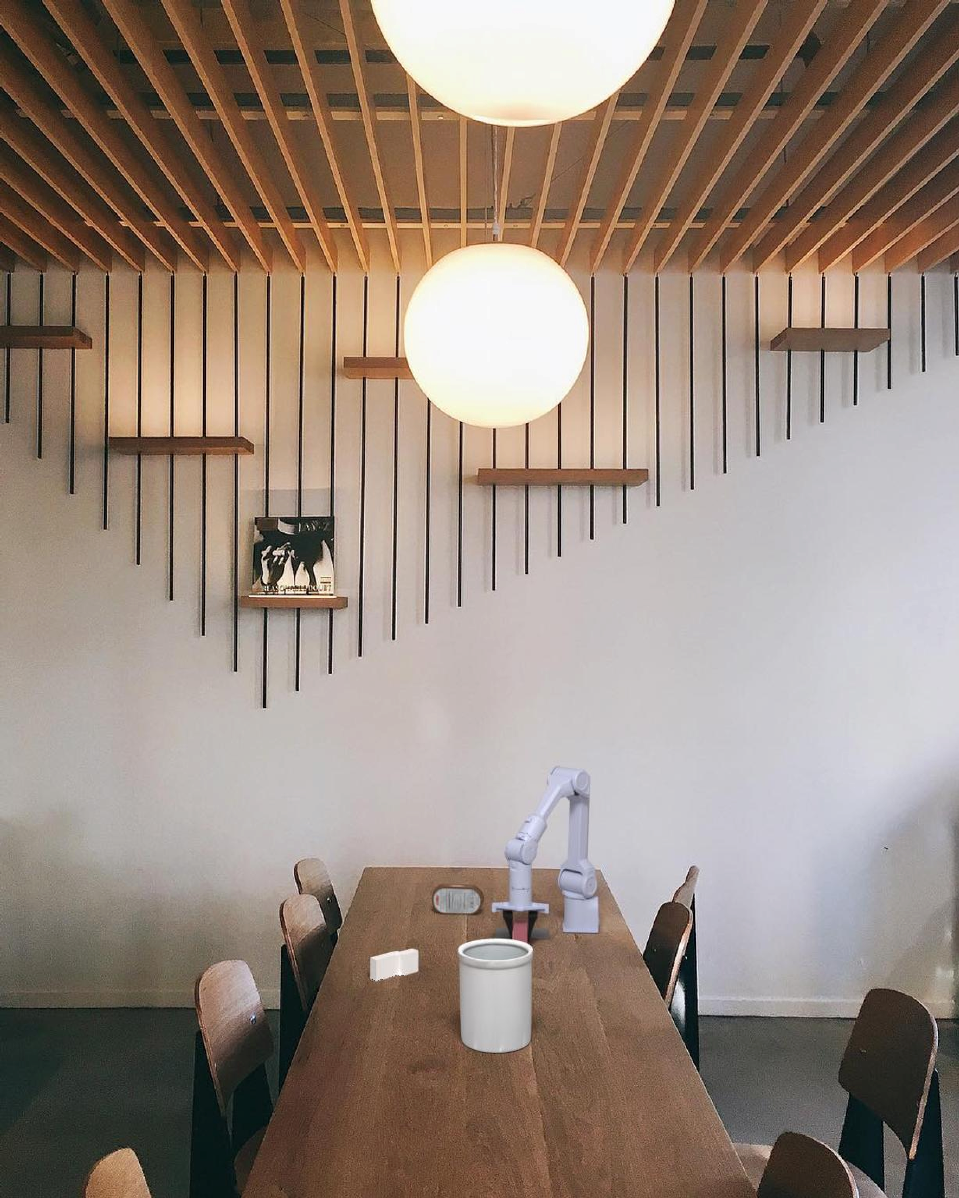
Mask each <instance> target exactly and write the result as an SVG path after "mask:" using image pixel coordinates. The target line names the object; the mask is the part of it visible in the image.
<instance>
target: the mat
mask: <svg viewBox="0 0 959 1198" xmlns="http://www.w3.org/2000/svg"><path fill="white" fill-rule="evenodd" d="M494 939H510V935H509V931H508V928H507V927H496V928H495V933H494ZM530 940H549V928H533V930H532V933H531V938H530Z"/></svg>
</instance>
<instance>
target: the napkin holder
mask: <svg viewBox="0 0 959 1198" xmlns="http://www.w3.org/2000/svg"><path fill="white" fill-rule="evenodd" d="M369 960H370V962H369V963H370V965H369V969H370V970H369V974H370V975H369V979H370V980H372V979H373V980H372V981H374V980H375V981H374V982H379V981H381V980H380V979H383V980H386V979H390V978H393V977H396V976H395V975H397V976H398V975H399V977H402V976H401V975H404V976H407V975H408V976H409V975H411V974H414V973H417V972H419V950H418V949H415V948H409V949H406V950H401V951H398V950H394V951H391V952H387V953H383V954H382V953H381V954H379V955H375V956H371V957H369ZM392 976H393V977H392ZM389 977H390V978H389ZM378 980H379V981H378Z"/></svg>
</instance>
